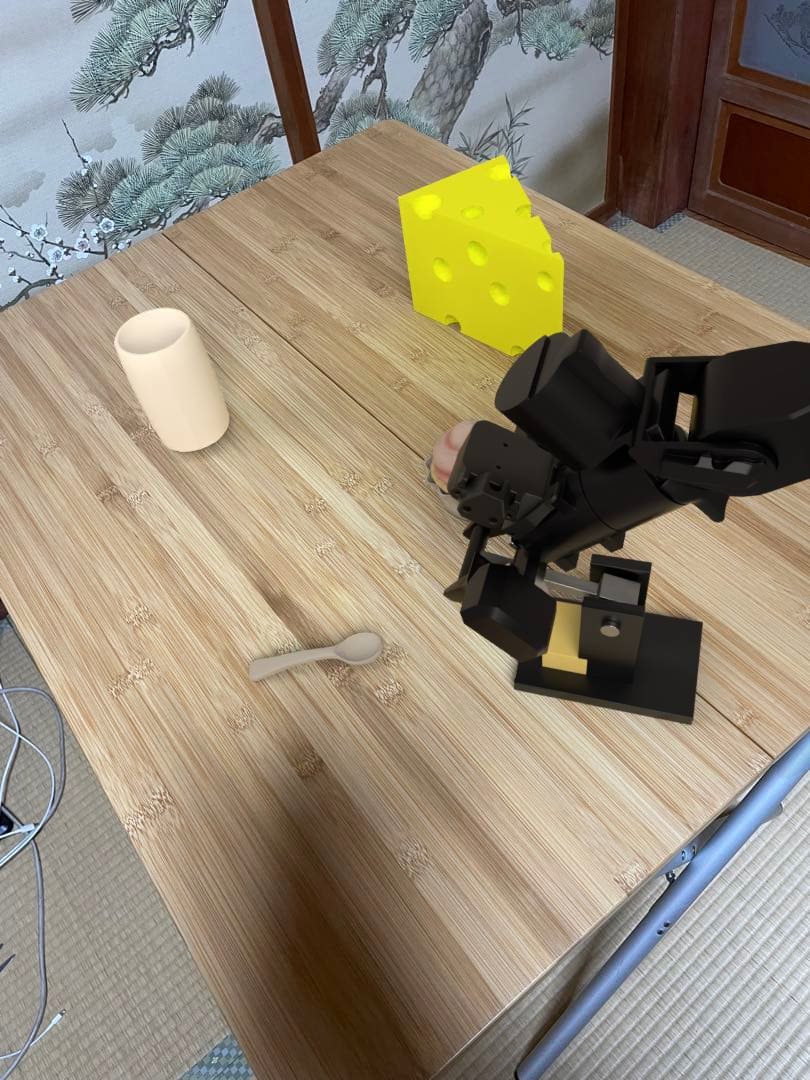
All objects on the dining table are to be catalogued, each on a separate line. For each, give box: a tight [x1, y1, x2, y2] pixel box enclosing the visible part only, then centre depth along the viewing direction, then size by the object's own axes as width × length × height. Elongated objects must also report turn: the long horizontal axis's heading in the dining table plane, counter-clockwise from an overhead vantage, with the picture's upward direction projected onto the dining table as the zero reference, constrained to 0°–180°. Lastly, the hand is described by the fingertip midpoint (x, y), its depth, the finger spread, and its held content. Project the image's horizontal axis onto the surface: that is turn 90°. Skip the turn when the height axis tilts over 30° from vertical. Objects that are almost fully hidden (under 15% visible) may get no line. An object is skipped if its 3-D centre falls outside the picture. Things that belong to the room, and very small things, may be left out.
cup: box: [113, 307, 230, 453], centre depth 88 cm, size 8×8×14 cm
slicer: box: [513, 553, 704, 726], centre depth 65 cm, size 14×9×11 cm, turn 73°
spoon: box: [248, 631, 385, 682], centre depth 72 cm, size 3×12×2 cm, turn 97°
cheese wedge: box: [397, 154, 565, 358], centre depth 94 cm, size 19×20×15 cm
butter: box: [542, 601, 587, 674], centre depth 68 cm, size 5×4×2 cm
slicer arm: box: [457, 525, 640, 605], centre depth 63 cm, size 13×6×2 cm, turn 73°
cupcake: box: [423, 419, 479, 522], centre depth 78 cm, size 9×9×10 cm
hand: (457, 565), depth 65 cm, fingers open, 6 cm apart
